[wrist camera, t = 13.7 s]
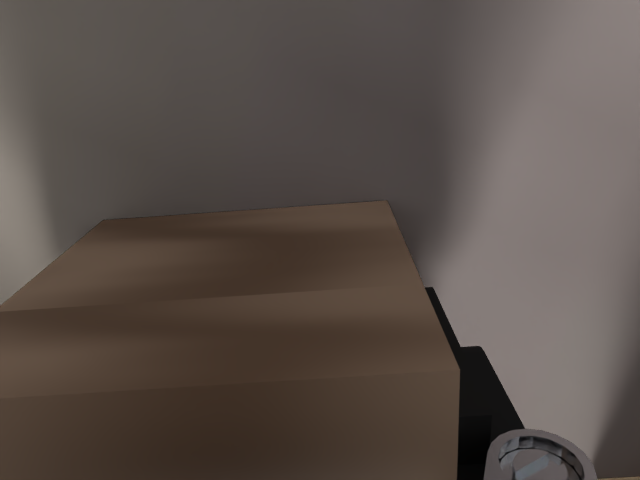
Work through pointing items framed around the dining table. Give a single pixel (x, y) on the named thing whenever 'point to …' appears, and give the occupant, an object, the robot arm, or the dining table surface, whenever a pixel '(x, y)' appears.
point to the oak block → (624, 479)
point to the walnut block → (230, 353)
